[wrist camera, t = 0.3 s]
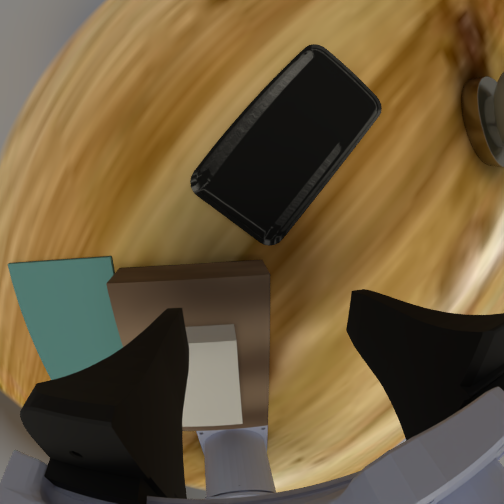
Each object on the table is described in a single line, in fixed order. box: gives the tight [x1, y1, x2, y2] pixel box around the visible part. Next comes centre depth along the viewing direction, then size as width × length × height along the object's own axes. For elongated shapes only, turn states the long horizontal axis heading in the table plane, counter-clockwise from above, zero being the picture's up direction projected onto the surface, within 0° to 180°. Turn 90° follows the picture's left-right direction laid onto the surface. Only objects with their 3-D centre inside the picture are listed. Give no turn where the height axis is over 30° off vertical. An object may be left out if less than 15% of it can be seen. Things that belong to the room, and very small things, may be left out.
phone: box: [190, 44, 382, 245], centre depth 18 cm, size 8×1×15 cm
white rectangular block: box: [182, 324, 243, 427], centre depth 18 cm, size 9×6×2 cm, turn 1°
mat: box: [8, 256, 123, 380], centre depth 20 cm, size 18×12×1 cm, turn 1°
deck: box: [106, 260, 270, 431], centre depth 21 cm, size 16×11×3 cm
